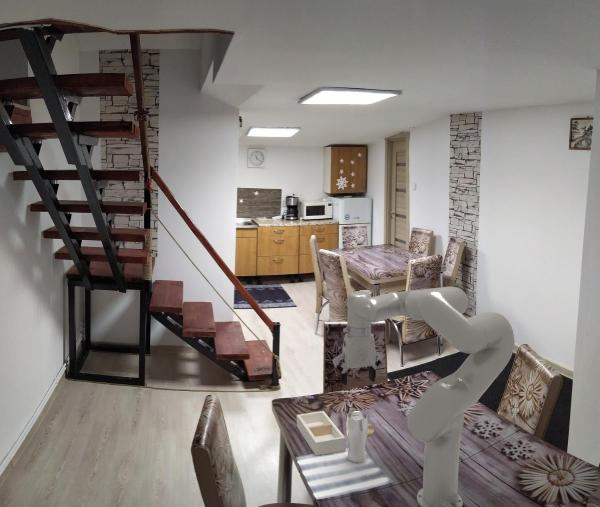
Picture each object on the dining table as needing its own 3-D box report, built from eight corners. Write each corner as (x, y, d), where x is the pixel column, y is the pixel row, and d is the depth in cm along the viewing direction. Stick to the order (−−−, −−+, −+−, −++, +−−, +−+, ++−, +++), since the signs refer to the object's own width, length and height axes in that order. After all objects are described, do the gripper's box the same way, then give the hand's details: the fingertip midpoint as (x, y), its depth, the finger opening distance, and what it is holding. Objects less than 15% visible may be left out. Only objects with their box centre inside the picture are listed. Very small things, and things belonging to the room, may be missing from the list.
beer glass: (366, 465, 173) (367, 421, 171) (344, 462, 175) (345, 419, 172) (367, 453, 180) (368, 411, 178) (347, 451, 182) (347, 409, 179)
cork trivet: (379, 434, 193) (379, 432, 193) (353, 438, 190) (353, 436, 190) (367, 421, 202) (367, 419, 202) (342, 425, 199) (342, 423, 199)
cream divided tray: (345, 450, 182) (345, 437, 181) (315, 455, 179) (315, 442, 178) (323, 422, 202) (323, 410, 201) (296, 426, 199) (296, 414, 198)
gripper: (337, 336, 164) (337, 389, 167) (389, 331, 169) (387, 383, 172) (329, 329, 171) (328, 380, 174) (378, 324, 177) (377, 374, 179)
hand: (357, 381), depth 173 cm, fingers open, 9 cm apart
